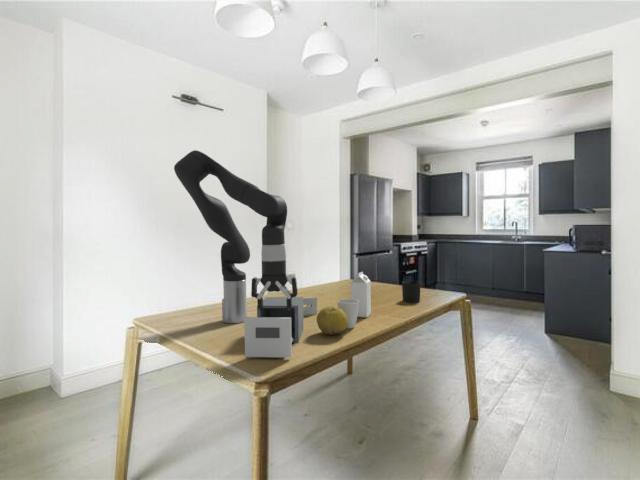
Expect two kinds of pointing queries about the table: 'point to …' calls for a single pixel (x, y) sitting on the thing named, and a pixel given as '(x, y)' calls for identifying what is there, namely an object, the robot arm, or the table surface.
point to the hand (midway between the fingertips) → (274, 310)
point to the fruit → (332, 320)
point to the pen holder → (411, 291)
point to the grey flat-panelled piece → (268, 337)
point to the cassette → (312, 308)
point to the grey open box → (285, 313)
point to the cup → (349, 310)
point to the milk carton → (362, 294)
